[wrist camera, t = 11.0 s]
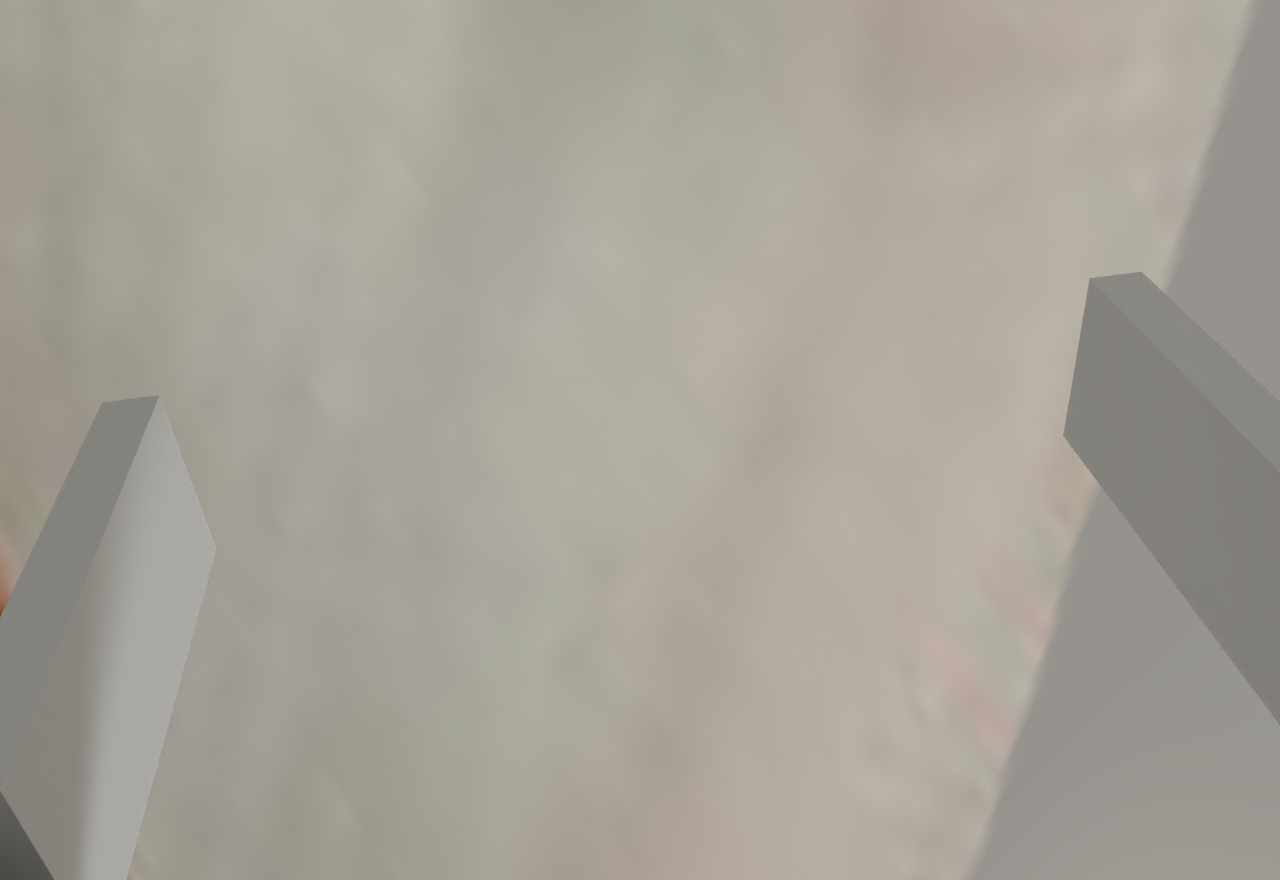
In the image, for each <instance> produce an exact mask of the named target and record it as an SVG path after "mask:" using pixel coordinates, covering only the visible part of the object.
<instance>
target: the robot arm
mask: <svg viewBox="0 0 1280 880" xmlns="http://www.w3.org/2000/svg"><path fill="white" fill-rule="evenodd" d="M1063 436H1064V437H1065V439H1066V440H1067V441H1068V443H1069V444H1070V445H1071V447H1072V448H1073V449H1074V451H1075V452H1076V453H1077V455H1078V456H1079V457H1080V459H1081V460H1082V461H1083V463H1084V464H1085V465H1086V467H1087V468H1088V469H1089V471H1090V472H1091V473H1092V475H1093V476H1094V477H1095V479H1096V480H1097V481H1098V483H1099V484H1100V485H1101V487H1102V488H1103V489H1104V491H1105V492H1106V493H1107V495H1108V496H1109V497H1110V499H1111V500H1112V501H1113V503H1114V504H1115V505H1116V507H1117V508H1118V509H1119V511H1120V512H1121V513H1122V515H1123V516H1124V517H1125V519H1126V520H1127V521H1128V523H1129V524H1130V525H1131V527H1132V528H1133V529H1134V531H1135V532H1136V533H1137V535H1138V536H1139V537H1140V539H1141V540H1142V541H1143V543H1144V544H1145V545H1146V547H1147V548H1148V549H1149V551H1150V552H1151V553H1152V555H1153V556H1154V557H1155V559H1156V560H1157V561H1158V563H1159V564H1160V565H1161V566H1162V568H1163V569H1164V571H1165V572H1166V573H1167V575H1168V576H1169V577H1170V579H1171V580H1172V581H1173V583H1174V584H1175V585H1176V587H1177V588H1178V589H1179V591H1180V592H1181V593H1182V595H1183V596H1184V597H1185V599H1186V600H1187V601H1188V603H1189V604H1190V605H1191V607H1192V608H1193V609H1194V611H1195V612H1196V613H1197V615H1198V616H1199V617H1200V619H1201V620H1202V621H1203V623H1204V624H1205V625H1206V627H1207V628H1208V629H1209V631H1210V632H1211V633H1212V635H1213V636H1214V637H1215V639H1216V640H1217V641H1218V643H1219V644H1220V645H1221V647H1222V648H1223V649H1224V651H1225V652H1226V653H1227V655H1228V656H1229V657H1230V659H1231V660H1232V661H1233V663H1234V664H1235V665H1236V667H1237V668H1238V669H1239V671H1240V672H1241V673H1242V675H1243V676H1244V677H1245V679H1246V680H1247V681H1248V683H1249V684H1250V685H1251V687H1252V688H1253V689H1254V691H1255V692H1256V693H1257V695H1258V696H1259V697H1260V699H1261V700H1262V701H1263V703H1264V704H1265V705H1266V707H1267V708H1268V709H1269V711H1270V712H1271V713H1272V715H1273V716H1274V717H1275V719H1276V720H1277V721H1278V722H1279V724H1280V401H1279V400H1278V399H1277V398H1275V397H1274V396H1273V395H1272V394H1271V393H1270V392H1269V391H1268V390H1267V389H1266V388H1265V387H1264V386H1263V385H1262V384H1260V383H1259V382H1258V381H1257V380H1256V379H1255V378H1254V377H1253V376H1252V375H1251V374H1250V373H1249V372H1248V371H1247V370H1246V369H1245V368H1243V367H1242V366H1241V365H1240V364H1239V363H1238V362H1237V361H1236V360H1235V359H1234V358H1233V357H1232V356H1231V355H1230V354H1229V353H1227V352H1226V351H1225V350H1224V349H1223V348H1222V347H1221V346H1220V345H1219V344H1218V343H1217V342H1216V341H1215V340H1214V339H1212V338H1211V337H1210V336H1209V335H1208V334H1207V333H1206V332H1205V331H1204V330H1203V329H1202V328H1201V327H1200V326H1199V325H1198V324H1196V323H1195V322H1194V321H1193V320H1192V319H1191V318H1190V317H1189V316H1188V315H1187V314H1186V313H1185V312H1184V311H1183V310H1182V309H1180V308H1179V307H1178V306H1177V305H1176V304H1175V303H1174V302H1173V301H1172V300H1171V299H1170V298H1169V297H1168V296H1167V295H1166V294H1164V293H1163V292H1162V291H1161V290H1160V289H1159V288H1158V287H1157V286H1156V285H1155V284H1154V283H1153V282H1152V281H1151V280H1150V279H1148V278H1147V277H1146V276H1145V275H1144V274H1143V273H1142V272H1137V273H1129V274H1121V275H1113V276H1105V277H1097V278H1090V280H1089V286H1088V292H1087V298H1086V304H1085V310H1084V316H1083V322H1082V328H1081V334H1080V340H1079V346H1078V352H1077V358H1076V364H1075V370H1074V376H1073V382H1072V388H1071V394H1070V400H1069V405H1068V411H1067V417H1066V423H1065V429H1064V435H1063ZM215 553H216V547H215V544H214V541H213V539H212V536H211V533H210V531H209V528H208V525H207V522H206V520H205V517H204V514H203V512H202V509H201V506H200V504H199V501H198V498H197V496H196V493H195V490H194V487H193V485H192V482H191V479H190V477H189V474H188V471H187V469H186V466H185V463H184V461H183V458H182V455H181V452H180V450H179V447H178V444H177V442H176V439H175V436H174V434H173V431H172V428H171V425H170V423H169V420H168V417H167V415H166V412H165V409H164V407H163V404H162V401H161V399H160V396H152V397H144V398H136V399H128V400H120V401H112V402H104V403H102V404H101V406H100V409H99V411H98V413H97V415H96V417H95V419H94V421H93V423H92V425H91V427H90V430H89V432H88V434H87V436H86V438H85V440H84V442H83V444H82V446H81V449H80V451H79V453H78V455H77V457H76V459H75V461H74V463H73V465H72V468H71V470H70V472H69V474H68V476H67V478H66V480H65V482H64V484H63V486H62V489H61V491H60V493H59V495H58V497H57V499H56V501H55V503H54V505H53V508H52V510H51V512H50V514H49V516H48V518H47V520H46V522H45V524H44V527H43V529H42V531H41V533H40V535H39V537H38V539H37V541H36V543H35V545H34V548H33V550H32V552H31V554H30V556H29V558H28V560H27V562H26V564H25V567H24V569H23V571H22V573H21V575H20V577H19V579H18V581H17V583H16V586H15V588H14V590H13V592H12V594H11V596H10V598H9V600H8V602H7V604H6V607H5V609H4V611H3V613H2V615H1V617H0V880H126V879H127V876H128V872H129V868H130V865H131V861H132V857H133V854H134V850H135V846H136V843H137V839H138V835H139V832H140V828H141V824H142V821H143V817H144V813H145V810H146V806H147V802H148V799H149V795H150V791H151V788H152V784H153V780H154V777H155V773H156V769H157V766H158V762H159V758H160V755H161V751H162V747H163V744H164V740H165V736H166V733H167V729H168V725H169V722H170V718H171V714H172V711H173V707H174V703H175V700H176V696H177V692H178V689H179V685H180V681H181V678H182V674H183V670H184V667H185V663H186V659H187V656H188V652H189V648H190V645H191V641H192V637H193V634H194V630H195V626H196V623H197V619H198V615H199V612H200V608H201V604H202V601H203V597H204V593H205V590H206V586H207V582H208V579H209V575H210V571H211V568H212V564H213V560H214V557H215Z"/></svg>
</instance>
